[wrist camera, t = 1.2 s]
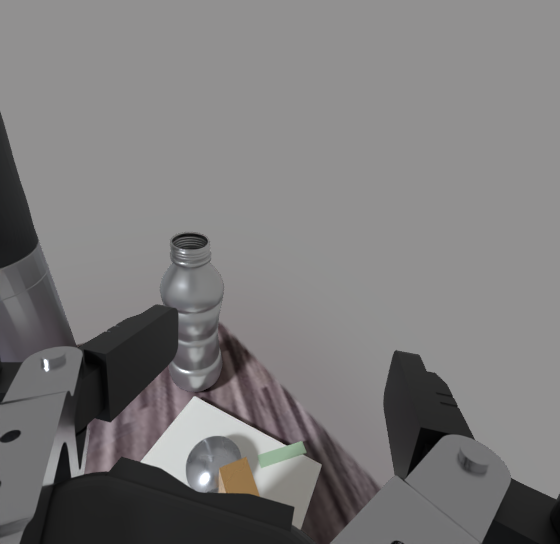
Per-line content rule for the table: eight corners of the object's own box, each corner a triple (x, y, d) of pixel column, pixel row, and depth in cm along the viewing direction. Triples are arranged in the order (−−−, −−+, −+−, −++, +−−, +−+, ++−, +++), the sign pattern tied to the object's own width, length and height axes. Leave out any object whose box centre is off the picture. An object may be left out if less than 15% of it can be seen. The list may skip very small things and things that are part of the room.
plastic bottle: (210, 350, 44) (209, 221, 33) (230, 387, 39) (237, 251, 28) (164, 366, 40) (145, 230, 29) (180, 409, 36) (164, 266, 25)
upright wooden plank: (181, 453, 29) (173, 384, 24) (231, 434, 32) (235, 367, 26) (223, 670, 19) (226, 644, 13) (293, 621, 21) (323, 580, 16)
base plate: (102, 516, 27) (97, 505, 26) (200, 394, 38) (200, 382, 36) (264, 638, 22) (267, 632, 21) (323, 459, 33) (327, 448, 32)
